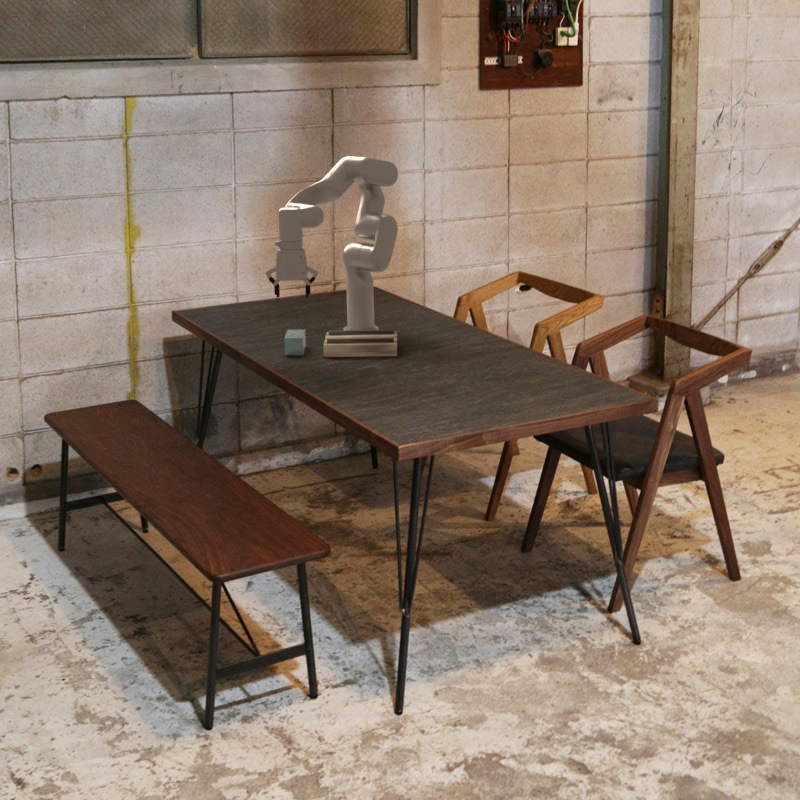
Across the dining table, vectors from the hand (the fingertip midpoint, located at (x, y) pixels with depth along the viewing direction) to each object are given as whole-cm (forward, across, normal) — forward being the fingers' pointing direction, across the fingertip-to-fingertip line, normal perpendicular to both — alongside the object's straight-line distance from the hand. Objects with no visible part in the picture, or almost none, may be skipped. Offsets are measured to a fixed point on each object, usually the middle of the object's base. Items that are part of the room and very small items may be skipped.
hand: (292, 296), depth 427 cm
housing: (+19, 0, 0) cm, 19 cm away
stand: (+18, +22, 0) cm, 29 cm away
